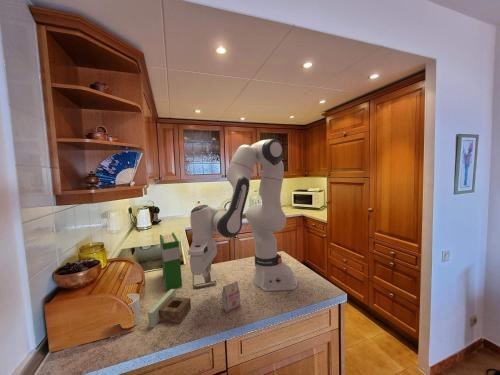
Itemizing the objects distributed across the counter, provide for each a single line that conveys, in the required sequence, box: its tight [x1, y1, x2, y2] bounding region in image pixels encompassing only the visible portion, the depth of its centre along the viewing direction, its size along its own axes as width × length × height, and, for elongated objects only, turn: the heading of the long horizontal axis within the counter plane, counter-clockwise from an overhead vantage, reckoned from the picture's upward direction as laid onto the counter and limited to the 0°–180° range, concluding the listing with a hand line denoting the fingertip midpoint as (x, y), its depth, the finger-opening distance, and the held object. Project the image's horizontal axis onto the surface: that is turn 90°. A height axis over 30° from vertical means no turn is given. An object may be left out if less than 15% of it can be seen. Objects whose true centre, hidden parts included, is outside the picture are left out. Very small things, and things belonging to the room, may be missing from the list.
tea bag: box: [221, 281, 242, 313], centre depth 92 cm, size 4×7×10 cm, turn 126°
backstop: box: [147, 289, 177, 328], centre depth 90 cm, size 2×16×6 cm, turn 169°
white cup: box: [126, 292, 141, 326], centre depth 85 cm, size 8×8×10 cm
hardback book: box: [159, 232, 183, 292], centre depth 115 cm, size 18×7×24 cm, turn 27°
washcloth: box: [192, 267, 217, 290], centre depth 117 cm, size 12×18×3 cm, turn 17°
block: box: [159, 296, 192, 324], centre depth 89 cm, size 9×9×4 cm
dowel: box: [204, 265, 211, 283], centre depth 94 cm, size 3×3×8 cm
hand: (207, 274), depth 94 cm, fingers closed on dowel, 3 cm apart
